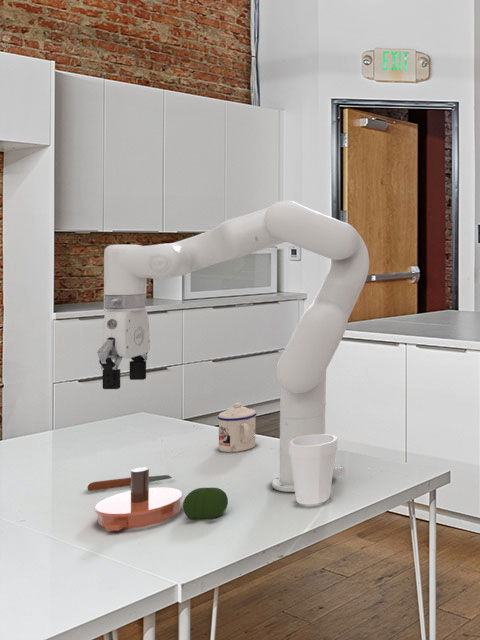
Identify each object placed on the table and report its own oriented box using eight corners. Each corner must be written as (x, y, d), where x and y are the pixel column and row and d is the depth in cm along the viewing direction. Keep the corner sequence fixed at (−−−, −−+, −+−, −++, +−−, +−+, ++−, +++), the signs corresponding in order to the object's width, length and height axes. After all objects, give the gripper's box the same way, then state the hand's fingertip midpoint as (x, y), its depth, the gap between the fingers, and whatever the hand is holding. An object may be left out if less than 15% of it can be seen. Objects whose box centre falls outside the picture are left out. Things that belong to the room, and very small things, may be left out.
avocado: (233, 512, 148) (233, 482, 148) (219, 524, 142) (220, 493, 142) (191, 513, 147) (191, 483, 147) (176, 525, 141) (176, 494, 141)
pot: (199, 499, 155) (199, 485, 155) (150, 536, 136) (151, 520, 136) (131, 501, 154) (131, 487, 154) (73, 538, 135) (73, 522, 135)
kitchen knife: (87, 493, 158) (87, 484, 158) (88, 491, 159) (88, 482, 159) (171, 482, 165) (171, 473, 165) (171, 480, 167) (172, 471, 167)
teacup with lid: (212, 447, 193) (212, 403, 192) (248, 440, 199) (249, 397, 199) (228, 457, 184) (229, 411, 184) (266, 450, 191) (266, 405, 190)
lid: (195, 492, 152) (195, 457, 152) (159, 519, 138) (159, 481, 138) (122, 493, 151) (122, 458, 151) (77, 521, 137) (77, 482, 137)
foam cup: (322, 490, 161) (322, 431, 161) (345, 500, 155) (346, 439, 155) (280, 502, 153) (280, 440, 153) (303, 513, 147) (303, 449, 147)
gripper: (120, 307, 146) (120, 392, 146) (164, 299, 164) (164, 376, 164) (80, 307, 146) (80, 393, 146) (129, 299, 163) (129, 376, 163)
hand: (125, 384), depth 155 cm, fingers open, 9 cm apart
